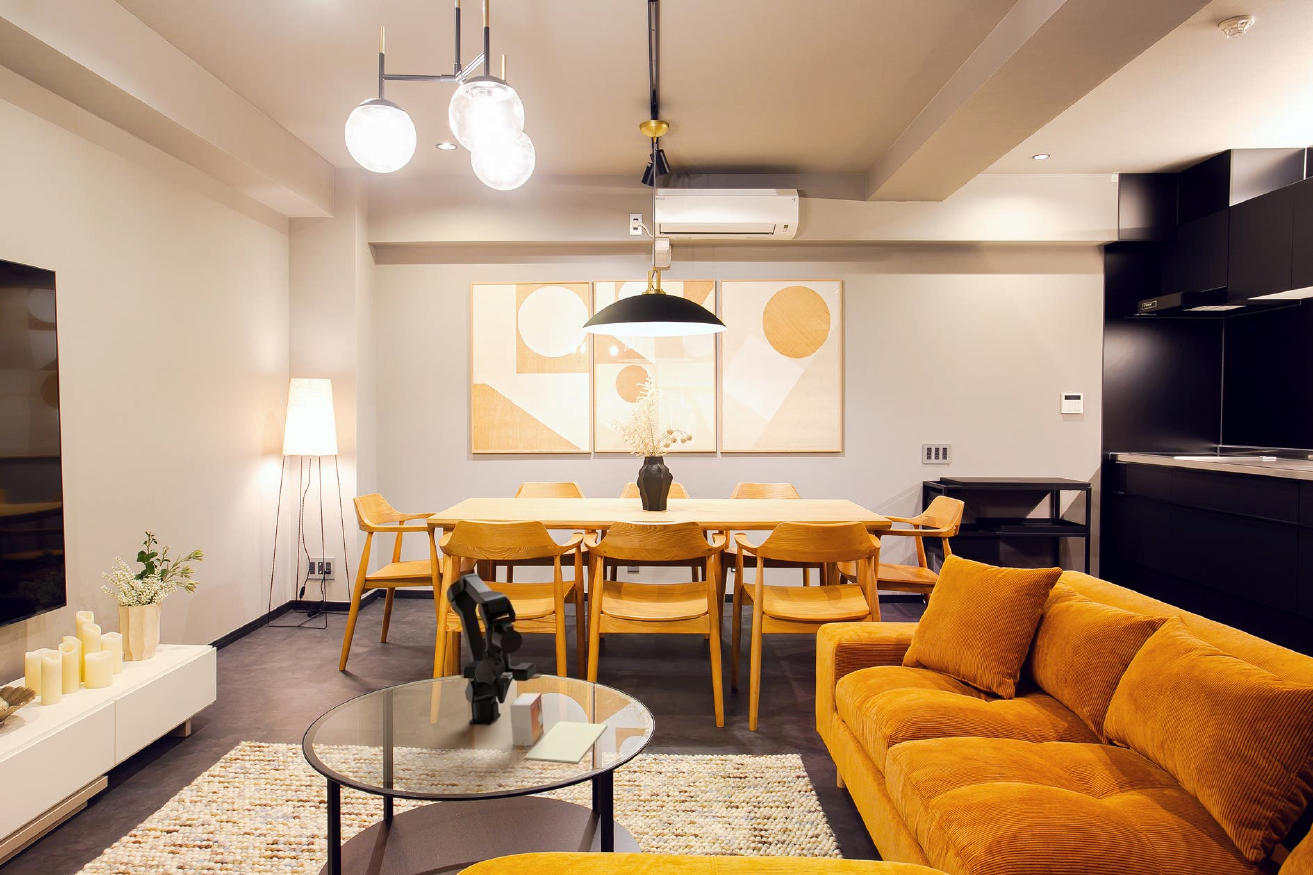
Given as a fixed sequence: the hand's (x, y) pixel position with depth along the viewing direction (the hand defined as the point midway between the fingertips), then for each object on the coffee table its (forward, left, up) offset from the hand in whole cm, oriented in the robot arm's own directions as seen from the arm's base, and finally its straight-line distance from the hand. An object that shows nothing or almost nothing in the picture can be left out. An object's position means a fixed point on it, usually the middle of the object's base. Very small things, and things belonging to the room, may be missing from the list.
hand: (501, 702), depth 186 cm
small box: (+7, 0, -9) cm, 12 cm away
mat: (+18, 0, -9) cm, 20 cm away
